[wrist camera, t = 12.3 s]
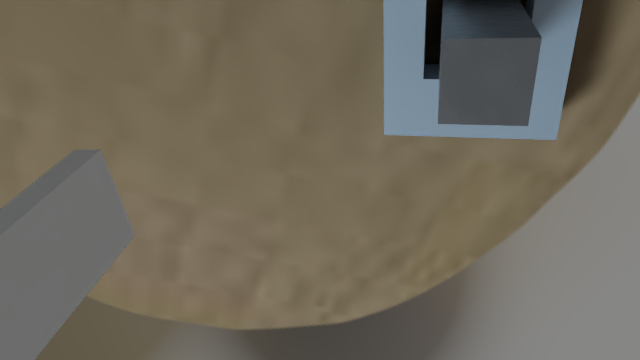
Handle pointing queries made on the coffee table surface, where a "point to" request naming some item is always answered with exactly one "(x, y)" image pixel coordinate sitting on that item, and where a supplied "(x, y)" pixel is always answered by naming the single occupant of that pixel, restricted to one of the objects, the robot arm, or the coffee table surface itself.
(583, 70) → the coffee table surface
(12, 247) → the robot arm
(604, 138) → the coffee table surface
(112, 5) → the coffee table surface
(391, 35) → the bore block
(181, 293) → the coffee table surface
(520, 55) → the square bit
